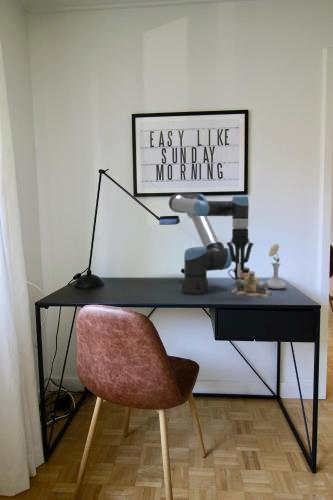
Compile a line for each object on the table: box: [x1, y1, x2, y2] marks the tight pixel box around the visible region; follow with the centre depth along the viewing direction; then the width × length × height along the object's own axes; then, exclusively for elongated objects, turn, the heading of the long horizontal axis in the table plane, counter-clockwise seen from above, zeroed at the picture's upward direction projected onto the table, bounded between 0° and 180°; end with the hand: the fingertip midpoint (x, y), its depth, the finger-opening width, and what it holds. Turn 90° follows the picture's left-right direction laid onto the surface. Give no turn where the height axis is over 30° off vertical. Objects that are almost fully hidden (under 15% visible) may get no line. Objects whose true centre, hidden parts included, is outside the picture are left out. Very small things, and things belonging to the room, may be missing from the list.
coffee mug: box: [227, 266, 250, 281], centre depth 188 cm, size 12×9×10 cm
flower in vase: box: [266, 243, 287, 290], centre depth 177 cm, size 13×11×25 cm
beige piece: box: [230, 273, 273, 299], centre depth 166 cm, size 18×10×10 cm, turn 57°
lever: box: [241, 270, 256, 278], centre depth 161 cm, size 14×3×2 cm, turn 147°
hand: (239, 276), depth 159 cm, fingers closed
